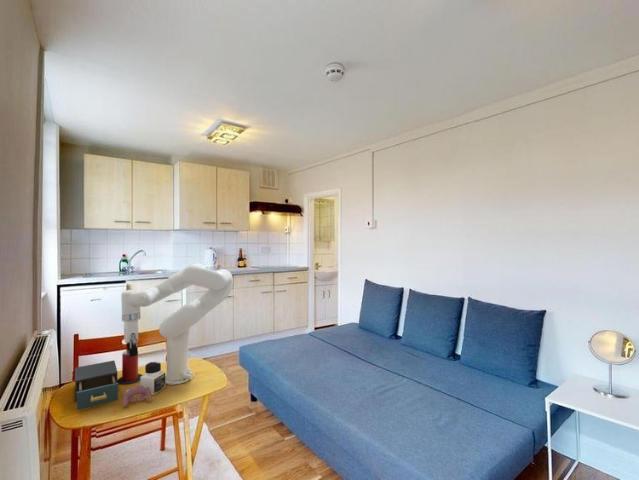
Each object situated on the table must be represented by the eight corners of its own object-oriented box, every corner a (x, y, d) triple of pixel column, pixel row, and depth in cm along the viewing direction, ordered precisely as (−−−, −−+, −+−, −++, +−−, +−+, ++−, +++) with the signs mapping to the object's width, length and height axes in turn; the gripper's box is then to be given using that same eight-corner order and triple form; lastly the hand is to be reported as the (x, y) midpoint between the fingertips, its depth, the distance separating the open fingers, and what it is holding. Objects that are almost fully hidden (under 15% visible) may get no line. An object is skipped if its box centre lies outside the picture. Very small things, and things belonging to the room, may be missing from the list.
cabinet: (117, 391, 138) (117, 371, 138) (74, 401, 129) (75, 380, 129) (114, 378, 151) (114, 360, 151) (75, 386, 142) (75, 367, 142)
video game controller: (150, 401, 133) (149, 384, 136) (151, 401, 130) (150, 383, 132) (122, 408, 128) (122, 389, 130) (122, 408, 124) (122, 388, 127)
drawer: (119, 404, 126) (119, 387, 126) (76, 415, 118) (76, 397, 118) (114, 386, 141) (115, 371, 141) (76, 395, 133) (76, 379, 133)
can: (129, 382, 146) (129, 355, 145) (118, 380, 148) (118, 353, 147) (141, 376, 152) (141, 350, 152) (130, 374, 154) (131, 348, 154)
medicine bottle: (154, 395, 136) (154, 367, 135) (139, 393, 137) (140, 365, 137) (165, 387, 143) (165, 360, 142) (151, 385, 144) (151, 359, 144)
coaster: (148, 376, 153) (148, 375, 153) (129, 386, 143) (129, 385, 143) (131, 373, 156) (131, 372, 156) (111, 382, 146) (111, 381, 146)
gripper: (120, 314, 154) (120, 349, 154) (124, 321, 140) (125, 360, 140) (137, 312, 158) (138, 346, 159) (143, 318, 145) (144, 356, 145)
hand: (132, 352), depth 150 cm, fingers open, 9 cm apart
